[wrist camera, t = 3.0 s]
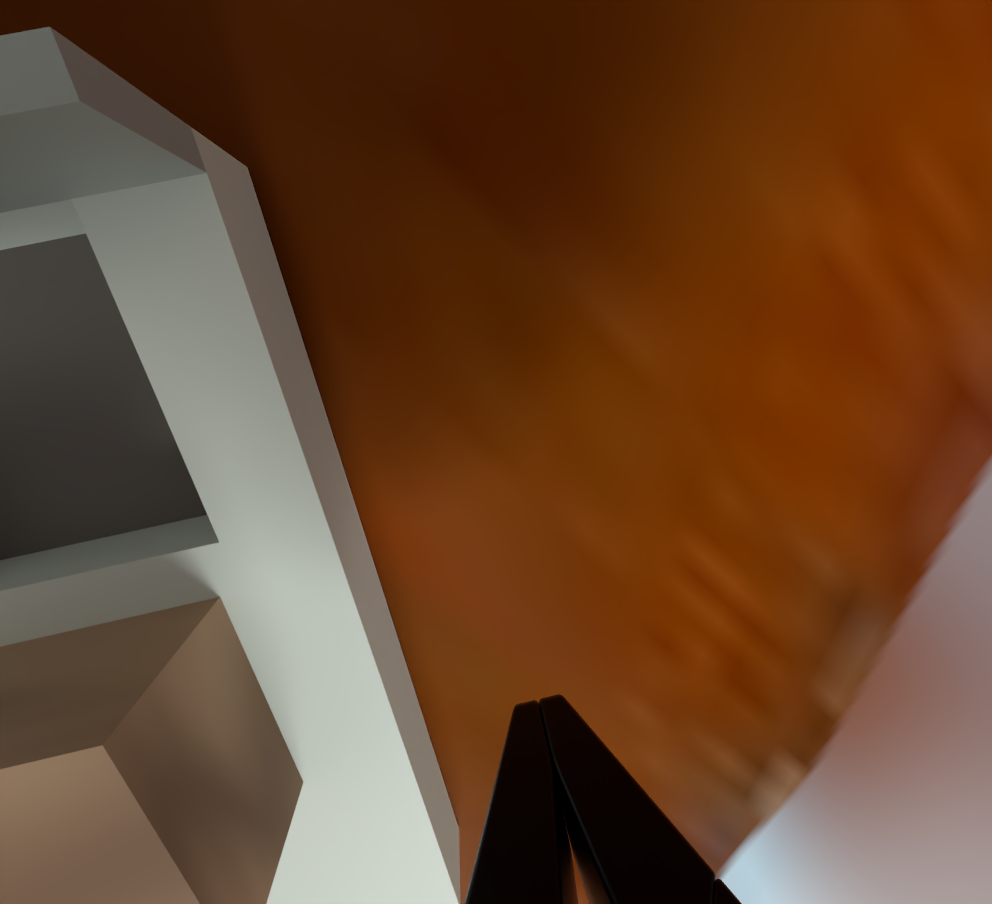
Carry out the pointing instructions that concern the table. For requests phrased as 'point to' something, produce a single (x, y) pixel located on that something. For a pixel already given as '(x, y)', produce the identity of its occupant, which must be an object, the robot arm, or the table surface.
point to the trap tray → (195, 458)
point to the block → (140, 765)
